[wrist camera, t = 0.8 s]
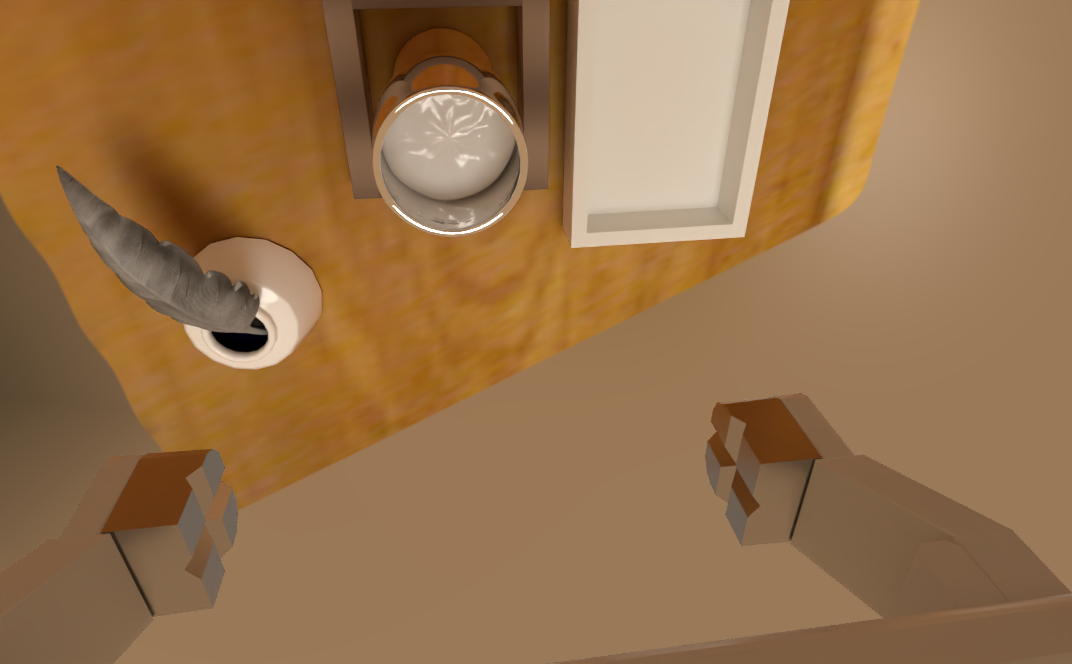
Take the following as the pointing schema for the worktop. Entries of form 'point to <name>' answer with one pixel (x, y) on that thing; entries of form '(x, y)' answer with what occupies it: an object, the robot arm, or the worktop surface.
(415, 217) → the beer glass
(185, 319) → the inkwell
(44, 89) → the worktop surface
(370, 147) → the walnut collar
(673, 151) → the cream white tray
